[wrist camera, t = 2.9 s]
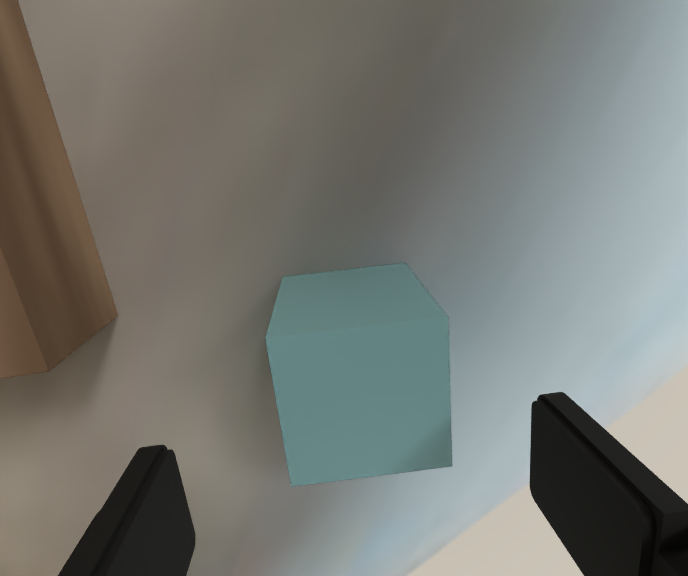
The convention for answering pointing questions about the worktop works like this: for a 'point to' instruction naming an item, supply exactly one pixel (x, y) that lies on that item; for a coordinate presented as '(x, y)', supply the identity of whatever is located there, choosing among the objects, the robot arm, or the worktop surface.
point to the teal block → (360, 374)
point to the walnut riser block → (40, 223)
